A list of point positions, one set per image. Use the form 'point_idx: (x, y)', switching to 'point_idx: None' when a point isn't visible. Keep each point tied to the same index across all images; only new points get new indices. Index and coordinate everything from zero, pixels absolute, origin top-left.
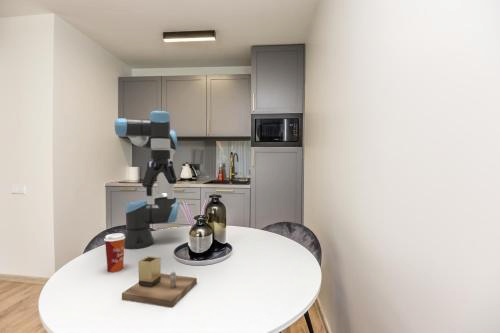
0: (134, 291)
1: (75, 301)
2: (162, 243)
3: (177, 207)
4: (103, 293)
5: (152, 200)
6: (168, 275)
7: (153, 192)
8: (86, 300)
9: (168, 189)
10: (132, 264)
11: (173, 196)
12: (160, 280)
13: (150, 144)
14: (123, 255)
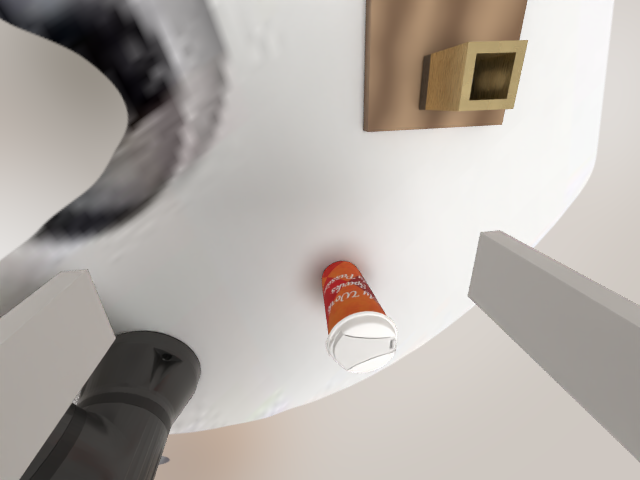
0: None
1: (502, 221)
2: None
3: None
4: (465, 194)
5: (531, 257)
6: (377, 58)
7: (634, 311)
8: (497, 203)
9: (13, 454)
10: (296, 263)
11: (49, 288)
12: (425, 56)
13: None
14: (337, 282)
